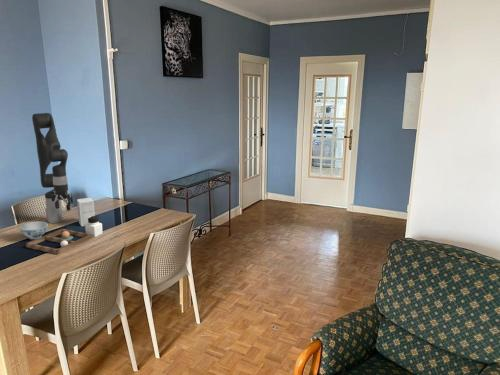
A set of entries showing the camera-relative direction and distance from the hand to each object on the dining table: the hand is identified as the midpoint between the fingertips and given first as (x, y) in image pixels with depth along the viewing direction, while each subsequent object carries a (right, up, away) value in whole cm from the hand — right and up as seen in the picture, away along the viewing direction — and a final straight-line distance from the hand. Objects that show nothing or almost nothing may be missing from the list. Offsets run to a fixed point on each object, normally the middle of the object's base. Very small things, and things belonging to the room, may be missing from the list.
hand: (63, 209), depth 226 cm
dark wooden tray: (-1, -20, -2) cm, 20 cm away
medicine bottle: (+14, -17, +11) cm, 25 cm away
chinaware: (-19, -18, +5) cm, 27 cm away
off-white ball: (+5, -21, -8) cm, 23 cm away
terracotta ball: (0, -18, +4) cm, 18 cm away
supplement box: (+1, -12, +30) cm, 33 cm away
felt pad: (0, -18, +4) cm, 19 cm away
